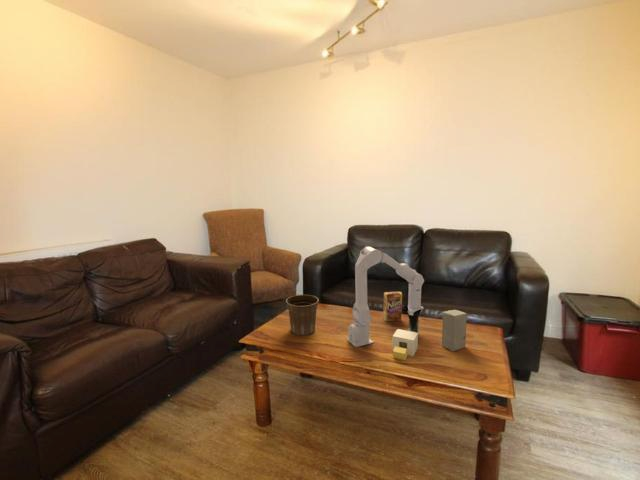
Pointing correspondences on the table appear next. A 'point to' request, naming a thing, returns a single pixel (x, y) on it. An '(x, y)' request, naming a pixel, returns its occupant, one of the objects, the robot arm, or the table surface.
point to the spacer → (400, 353)
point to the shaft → (412, 329)
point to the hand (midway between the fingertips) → (413, 324)
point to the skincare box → (454, 329)
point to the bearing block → (406, 340)
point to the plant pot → (302, 313)
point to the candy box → (392, 306)
